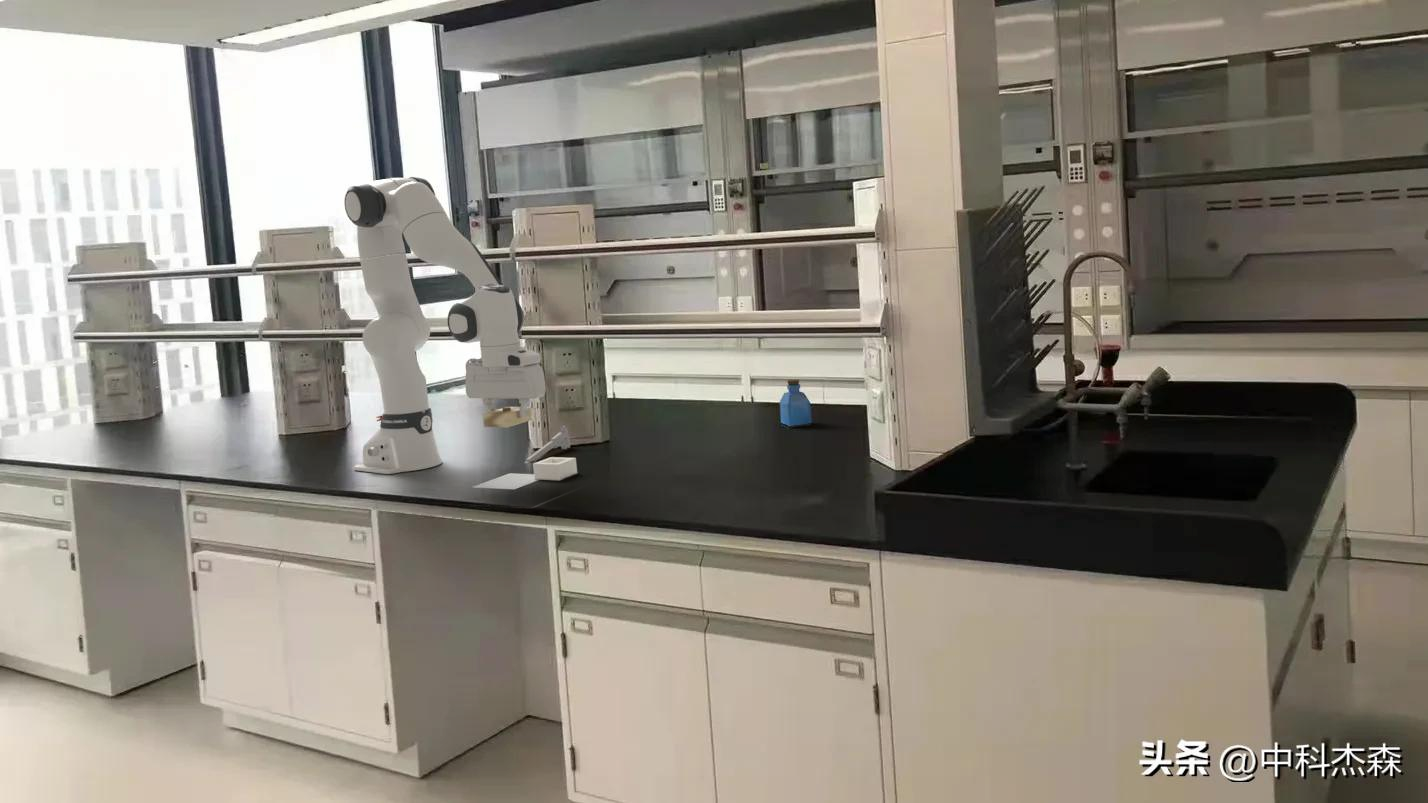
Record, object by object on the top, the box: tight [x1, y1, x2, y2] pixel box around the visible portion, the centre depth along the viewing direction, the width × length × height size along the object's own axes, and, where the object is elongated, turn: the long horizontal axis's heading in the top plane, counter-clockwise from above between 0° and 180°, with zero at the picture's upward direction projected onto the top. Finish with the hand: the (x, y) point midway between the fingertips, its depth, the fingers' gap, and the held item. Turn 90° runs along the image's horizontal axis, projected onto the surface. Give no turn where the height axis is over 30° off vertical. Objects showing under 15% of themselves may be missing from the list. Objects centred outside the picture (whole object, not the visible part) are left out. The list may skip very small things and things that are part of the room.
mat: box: [471, 472, 541, 490], centre depth 272 cm, size 12×14×1 cm
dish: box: [532, 456, 578, 481], centre depth 274 cm, size 7×7×4 cm
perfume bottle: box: [779, 379, 812, 426], centre depth 316 cm, size 6×6×12 cm
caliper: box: [524, 425, 571, 464], centre depth 301 cm, size 20×1×6 cm, turn 156°
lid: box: [482, 406, 533, 428], centre depth 270 cm, size 6×9×4 cm
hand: (507, 417), depth 270 cm, fingers closed on lid, 6 cm apart
